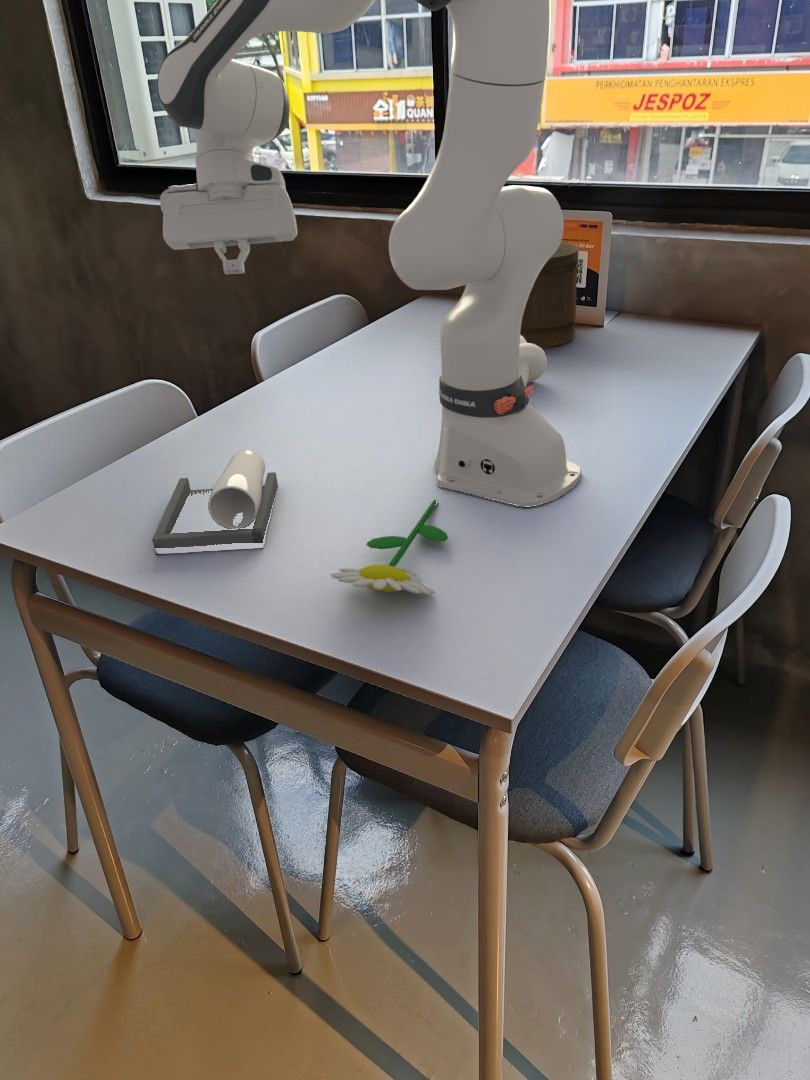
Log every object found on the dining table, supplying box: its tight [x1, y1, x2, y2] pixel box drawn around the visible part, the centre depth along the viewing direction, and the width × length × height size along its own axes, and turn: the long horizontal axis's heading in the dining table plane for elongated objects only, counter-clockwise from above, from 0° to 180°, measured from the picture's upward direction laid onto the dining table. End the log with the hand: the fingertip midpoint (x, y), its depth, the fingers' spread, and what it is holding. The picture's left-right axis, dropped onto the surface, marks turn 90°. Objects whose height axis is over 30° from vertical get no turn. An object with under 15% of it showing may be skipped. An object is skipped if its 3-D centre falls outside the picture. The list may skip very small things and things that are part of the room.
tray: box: [151, 471, 279, 548], centre depth 116 cm, size 17×14×2 cm
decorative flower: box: [330, 499, 449, 596], centre depth 104 cm, size 13×5×30 cm
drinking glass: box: [208, 448, 266, 529], centre depth 118 cm, size 7×7×15 cm
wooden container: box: [520, 240, 579, 349], centre depth 169 cm, size 15×15×22 cm
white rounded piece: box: [519, 335, 548, 388], centre depth 150 cm, size 11×12×9 cm
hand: (234, 273), depth 126 cm, fingers closed
